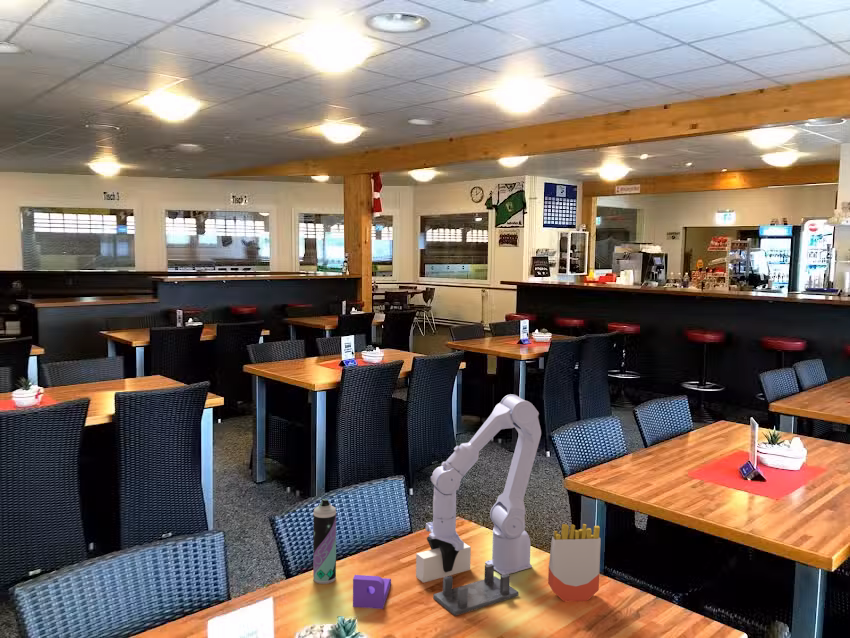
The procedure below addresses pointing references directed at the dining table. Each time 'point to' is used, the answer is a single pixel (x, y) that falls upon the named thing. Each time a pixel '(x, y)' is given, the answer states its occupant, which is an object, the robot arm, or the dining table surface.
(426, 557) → the block
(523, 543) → the robot arm
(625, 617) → the dining table surface
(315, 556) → the spray can
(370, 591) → the bracket
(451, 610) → the grey tray
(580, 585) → the french fries container
